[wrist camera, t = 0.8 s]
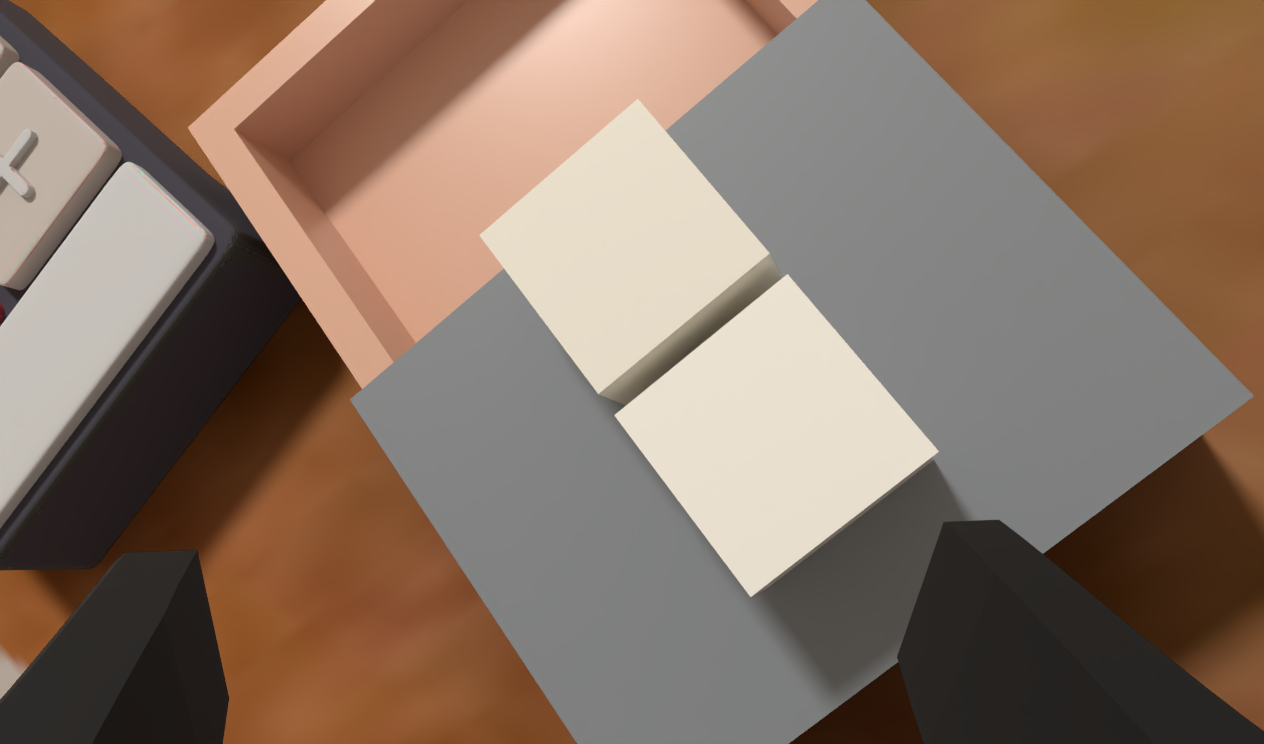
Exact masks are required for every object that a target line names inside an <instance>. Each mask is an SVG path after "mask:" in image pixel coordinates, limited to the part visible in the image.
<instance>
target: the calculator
mask: <svg viewBox="0 0 1264 744" xmlns="http://www.w3.org/2000/svg"><path fill="white" fill-rule="evenodd" d="M300 299H301V297H300V295H299V294H298V292H297V291H296V289H295V288H294V286H293V285H292V283H291V282H290V280H289V279H288V277H287V276H286V274H285V273H284V271H283V270H282V268H281V267H280V265H279V264H278V262H277V261H276V259H275V258H274V256H273V255H272V253H271V252H270V250H269V249H268V247H267V246H266V244H265V243H264V241H263V240H262V238H261V237H260V235H259V234H258V232H257V231H256V229H255V228H254V226H253V225H252V223H251V222H250V220H249V219H248V217H247V216H246V214H245V213H244V211H243V210H242V208H241V207H240V205H239V204H238V202H237V201H236V199H235V198H234V196H233V195H232V193H231V192H230V190H228V189H227V188H226V187H224V186H223V185H222V184H220V183H219V182H218V181H216V180H215V179H214V178H212V177H211V176H210V175H209V174H207V173H206V172H205V171H204V170H203V169H202V168H201V167H200V166H199V165H197V164H196V163H195V162H194V161H193V160H192V159H191V158H190V157H189V156H188V155H186V154H185V153H184V152H183V151H182V150H181V149H180V148H179V147H178V146H177V145H175V144H174V143H173V142H172V141H171V140H170V139H169V138H168V137H167V136H166V135H164V134H163V133H162V132H161V131H160V130H159V129H158V128H157V127H156V126H155V125H153V124H152V123H151V122H150V121H149V120H148V119H147V118H146V117H145V116H143V115H142V114H141V113H140V112H139V111H138V110H137V109H136V108H135V107H134V106H132V105H131V104H130V103H129V102H128V101H127V100H126V99H125V98H124V97H123V96H121V95H120V94H119V93H118V92H117V91H116V90H115V89H114V88H113V87H112V86H110V85H109V84H108V83H107V82H106V81H105V80H104V79H103V78H102V77H101V76H99V75H98V74H97V73H96V72H95V71H94V70H93V69H92V68H90V67H89V66H88V65H87V64H86V63H85V62H84V61H83V60H81V59H80V58H79V57H78V56H77V55H76V54H75V53H74V52H72V51H71V50H70V49H69V48H68V47H67V46H66V45H65V44H63V43H62V42H61V41H60V40H59V39H58V38H57V37H56V36H54V35H53V34H52V33H51V32H50V31H49V30H48V29H47V28H45V27H44V26H43V25H42V24H41V23H40V22H39V21H37V20H36V19H35V18H34V17H33V16H32V15H31V14H30V13H28V12H27V11H26V10H24V9H22V8H21V7H19V6H17V5H16V4H14V3H12V2H10V1H9V0H0V570H44V569H88V568H93V567H95V566H96V565H97V564H98V563H99V562H100V561H101V560H102V558H103V557H104V556H105V554H106V553H107V552H108V551H109V549H110V548H111V547H112V545H113V544H114V543H115V541H116V540H117V539H118V538H119V536H120V535H121V534H122V532H123V531H124V530H125V528H126V527H127V526H128V524H129V523H130V522H131V520H132V519H133V518H134V517H135V515H136V514H137V513H138V511H139V510H140V509H141V507H142V506H143V505H144V503H145V502H146V501H147V500H148V498H149V497H150V496H151V494H152V493H153V492H154V490H155V489H156V488H157V486H158V485H159V484H160V483H161V481H162V480H163V479H164V477H165V476H166V475H167V473H168V472H169V471H170V469H171V468H172V467H173V465H174V464H175V463H176V462H177V460H178V459H179V458H180V456H181V455H182V454H183V452H184V451H185V450H186V448H187V447H188V446H189V445H190V443H191V442H192V441H193V439H194V438H195V437H196V435H197V434H198V433H199V431H200V430H201V429H202V427H203V426H204V425H205V424H206V422H207V421H208V420H209V418H210V417H211V416H212V414H213V413H214V412H215V410H216V409H217V408H218V407H219V405H220V404H221V403H222V401H223V400H224V399H225V397H226V396H227V395H228V393H229V392H230V391H231V389H232V388H233V387H234V386H235V384H236V383H237V382H238V380H239V379H240V378H241V376H242V375H243V374H244V372H245V371H246V370H247V369H248V367H249V366H250V365H251V363H252V362H253V361H254V359H255V358H256V357H257V355H258V354H259V353H260V351H261V350H262V349H263V348H264V346H265V345H266V344H267V342H268V341H269V340H270V338H271V337H272V336H273V334H274V333H275V332H276V331H277V329H278V328H279V327H280V325H281V324H282V323H283V321H284V320H285V319H286V317H287V316H288V315H289V313H290V312H291V311H292V310H293V308H294V307H295V306H296V304H297V303H298V302H299V300H300Z"/></svg>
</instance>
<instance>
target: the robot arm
mask: <svg viewBox="0 0 1264 744" xmlns="http://www.w3.org/2000/svg"><path fill="white" fill-rule="evenodd" d="M897 659H898V662H899V666H900V669H901V673H902V676H903V680H904V683H905V686H906V690H907V693H908V697H909V700H910V703H911V707H912V710H913V713H914V716H915V719H916V722H917V725H918V728H919V732H920V735H921V738H922V741H923V744H1264V731H1263V730H1261V729H1260V728H1259V727H1257V726H1256V725H1255V724H1253V723H1252V722H1250V721H1249V720H1248V719H1246V718H1245V717H1244V716H1243V715H1241V714H1240V713H1239V712H1237V711H1236V710H1235V709H1233V708H1232V707H1231V706H1230V705H1228V704H1227V703H1226V702H1224V701H1223V700H1222V699H1221V698H1219V697H1218V696H1217V695H1215V694H1214V693H1213V692H1211V691H1210V690H1209V689H1208V688H1206V687H1205V686H1204V685H1203V684H1201V683H1200V682H1199V681H1197V680H1196V679H1195V678H1194V677H1192V676H1191V675H1190V674H1189V673H1187V672H1186V671H1185V670H1184V669H1182V668H1181V667H1180V666H1179V665H1177V664H1176V663H1175V662H1174V661H1172V660H1171V659H1170V658H1169V657H1167V656H1166V655H1165V654H1164V653H1162V652H1161V651H1160V650H1159V649H1158V648H1156V647H1155V646H1154V645H1153V644H1151V643H1150V642H1149V641H1148V640H1146V639H1145V638H1144V637H1143V636H1142V635H1140V634H1139V633H1138V632H1137V631H1135V630H1134V629H1133V628H1132V627H1131V626H1129V625H1128V624H1127V623H1126V622H1125V621H1123V620H1122V619H1121V618H1120V617H1118V616H1117V615H1116V614H1115V613H1114V612H1112V611H1111V610H1110V609H1109V608H1108V607H1106V606H1105V605H1104V604H1103V603H1102V602H1100V601H1099V600H1098V599H1097V598H1096V597H1094V596H1093V595H1092V594H1091V593H1090V592H1088V591H1087V590H1086V589H1085V588H1083V587H1082V586H1081V585H1080V584H1079V583H1077V582H1076V581H1075V580H1074V579H1073V578H1071V577H1070V576H1069V575H1068V574H1067V573H1065V572H1064V571H1063V570H1062V569H1061V568H1059V567H1058V566H1057V565H1056V564H1054V563H1053V562H1052V561H1051V560H1050V559H1048V558H1047V557H1046V556H1045V555H1044V554H1042V553H1041V552H1040V551H1039V550H1037V549H1036V548H1035V547H1034V546H1032V545H1031V544H1030V543H1029V542H1027V541H1026V540H1025V539H1024V538H1022V537H1021V536H1020V535H1019V534H1017V533H1016V532H1015V531H1013V530H1012V529H1011V528H1009V527H1008V526H1007V525H1006V524H1004V523H1003V522H1002V521H1000V520H976V521H950V522H944V523H943V525H942V528H941V531H940V534H939V537H938V540H937V543H936V546H935V548H934V551H933V554H932V557H931V560H930V563H929V566H928V569H927V572H926V574H925V577H924V580H923V583H922V586H921V589H920V592H919V595H918V597H917V600H916V603H915V606H914V609H913V612H912V615H911V618H910V621H909V623H908V626H907V629H906V632H905V635H904V638H903V641H902V644H901V646H900V649H899V652H898V655H897ZM228 702H229V696H228V691H227V686H226V682H225V677H224V672H223V668H222V663H221V658H220V654H219V649H218V644H217V640H216V635H215V630H214V626H213V621H212V616H211V612H210V607H209V603H208V598H207V593H206V589H205V584H204V579H203V575H202V570H201V565H200V561H199V556H198V551H197V550H180V551H154V552H127V553H124V554H123V555H122V556H121V557H120V558H118V559H117V560H116V561H115V562H114V563H113V564H112V566H111V567H110V568H109V569H108V570H107V572H106V573H105V574H104V575H103V577H102V578H101V579H100V580H99V582H98V583H97V584H96V585H95V586H94V588H93V589H92V590H91V591H90V593H89V594H88V595H87V596H86V598H85V599H84V600H83V601H82V602H81V604H80V605H79V606H78V607H77V609H76V610H75V611H74V612H73V614H72V615H71V616H70V617H69V618H68V620H67V621H66V622H65V623H64V625H63V626H62V627H61V628H60V629H59V631H58V632H57V633H56V634H55V636H54V637H53V638H52V639H51V640H50V642H49V643H48V644H47V645H46V646H45V648H44V649H43V650H42V651H41V652H40V654H39V655H38V656H37V657H36V658H35V659H34V661H33V662H32V663H31V664H30V665H29V667H28V668H27V669H26V670H25V671H24V673H23V674H22V675H21V676H20V677H19V679H18V680H17V681H16V682H15V683H14V684H13V686H12V687H11V688H10V689H9V690H8V691H7V693H6V694H5V695H4V696H3V697H2V698H1V699H0V744H223V737H224V730H225V723H226V716H227V709H228Z"/></svg>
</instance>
